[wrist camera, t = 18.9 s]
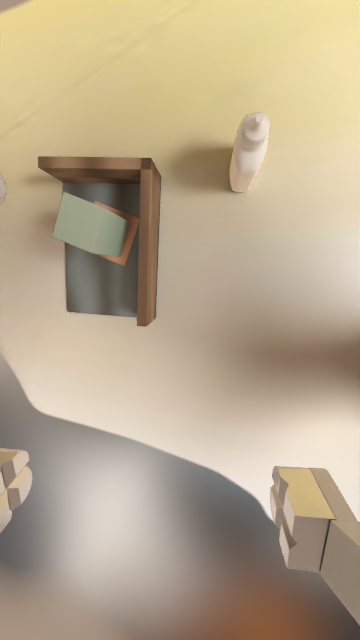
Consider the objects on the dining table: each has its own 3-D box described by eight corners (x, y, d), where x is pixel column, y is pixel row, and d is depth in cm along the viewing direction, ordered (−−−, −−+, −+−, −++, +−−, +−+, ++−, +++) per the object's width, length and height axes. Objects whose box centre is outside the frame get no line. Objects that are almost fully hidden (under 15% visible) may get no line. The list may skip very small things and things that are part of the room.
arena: (161, 176, 35) (151, 158, 29) (155, 318, 39) (145, 326, 33) (65, 174, 37) (38, 156, 31) (69, 311, 41) (46, 318, 35)
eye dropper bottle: (216, 180, 34) (220, 134, 23) (241, 140, 33) (259, 70, 21) (243, 198, 34) (260, 162, 23) (269, 160, 33) (301, 100, 21)
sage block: (131, 223, 36) (105, 208, 27) (120, 257, 37) (92, 253, 28) (99, 210, 36) (63, 191, 27) (89, 244, 37) (52, 236, 29)
